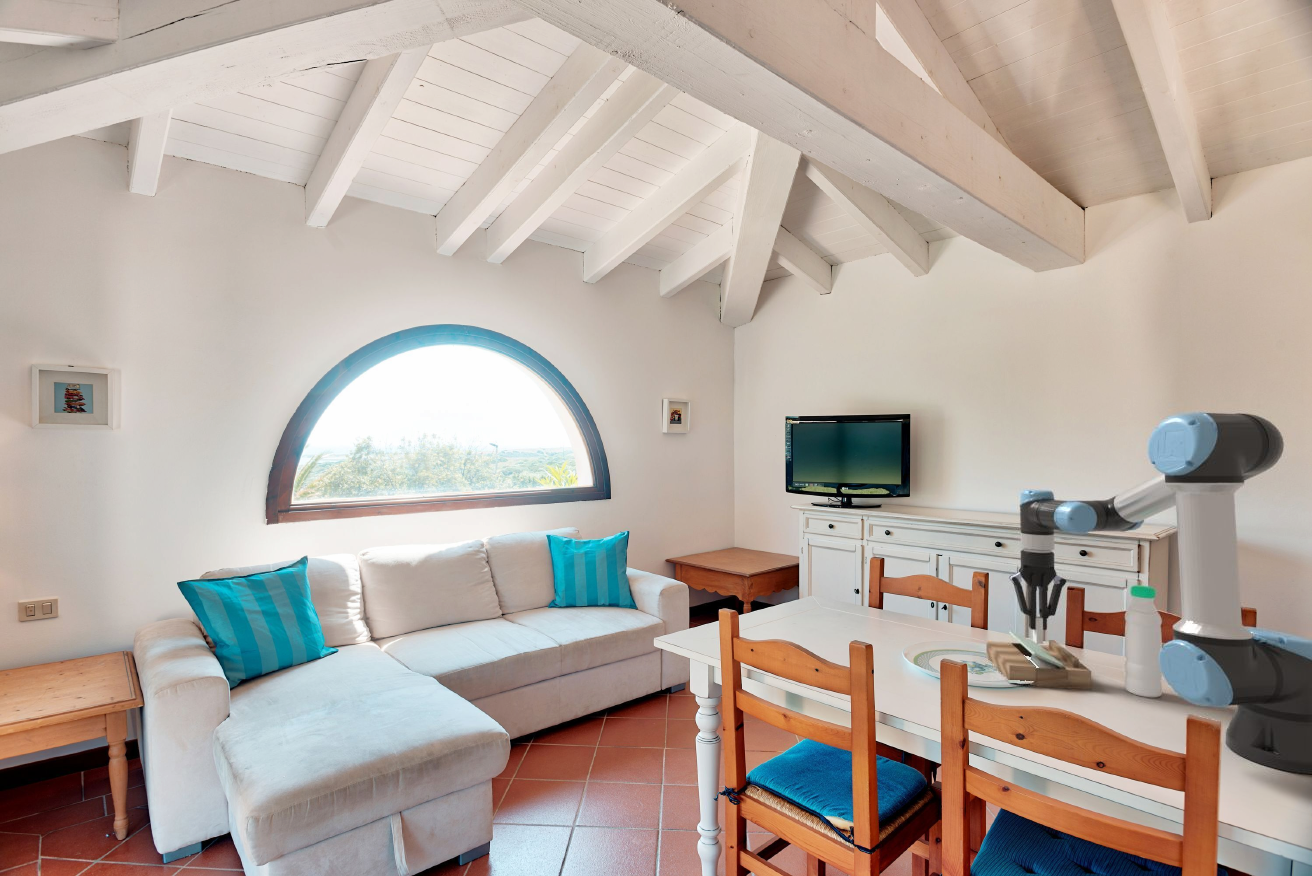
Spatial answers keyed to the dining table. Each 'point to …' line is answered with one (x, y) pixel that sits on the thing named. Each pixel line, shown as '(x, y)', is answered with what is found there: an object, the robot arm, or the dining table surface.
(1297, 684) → the robot arm
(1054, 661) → the cover
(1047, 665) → the white rounded cylinder
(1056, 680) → the wooden tray
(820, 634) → the dining table surface
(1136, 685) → the water bottle
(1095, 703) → the dining table surface
